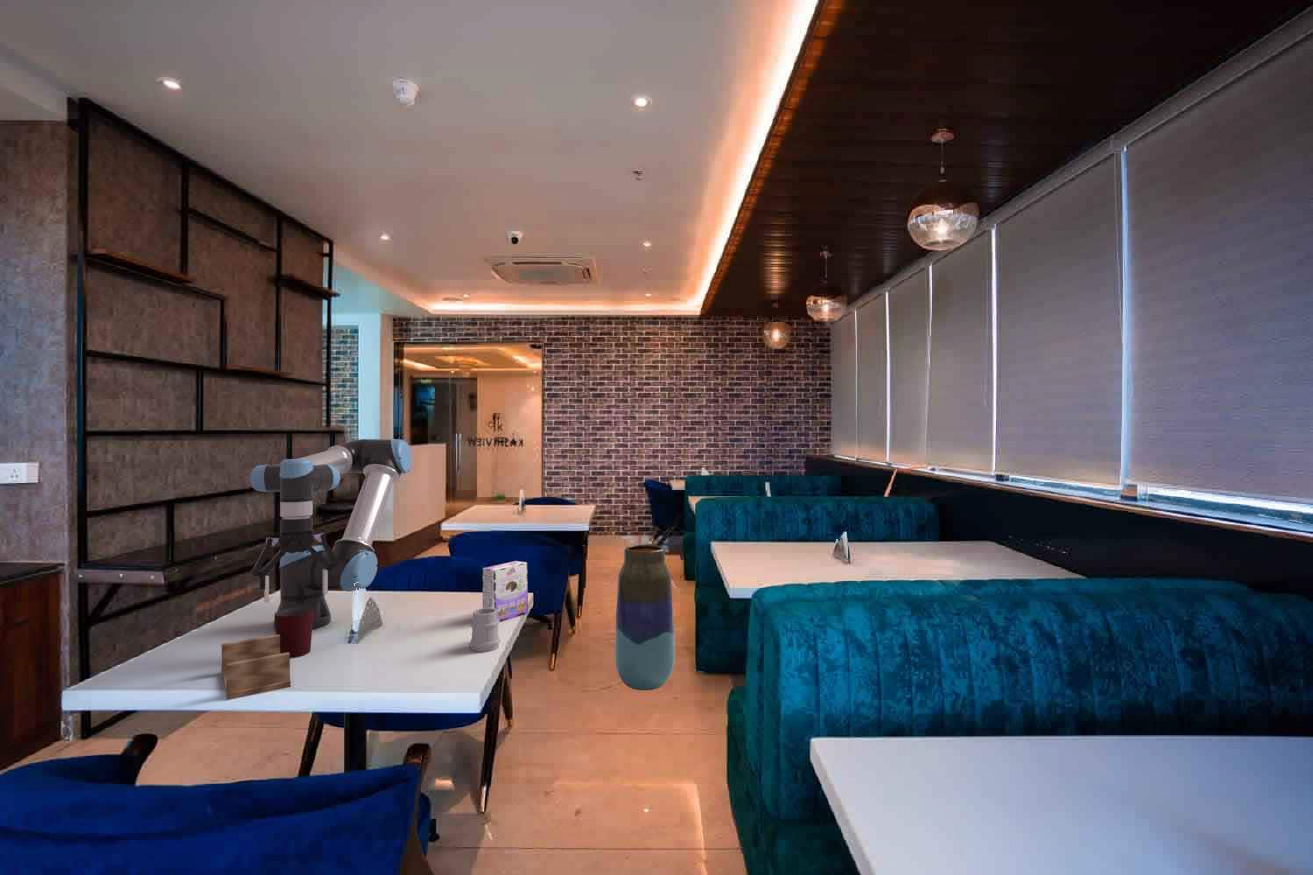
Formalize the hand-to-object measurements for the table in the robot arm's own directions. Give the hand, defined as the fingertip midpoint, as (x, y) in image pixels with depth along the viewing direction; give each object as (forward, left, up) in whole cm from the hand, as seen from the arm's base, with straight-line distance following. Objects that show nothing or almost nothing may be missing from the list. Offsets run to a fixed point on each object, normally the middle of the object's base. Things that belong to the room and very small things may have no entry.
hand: (296, 597), depth 169 cm
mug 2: (-42, +26, -15) cm, 52 cm away
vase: (-60, +74, -15) cm, 96 cm away
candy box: (-57, +4, -15) cm, 59 cm away
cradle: (+11, +16, -14) cm, 24 cm away
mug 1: (0, 0, -15) cm, 15 cm away
